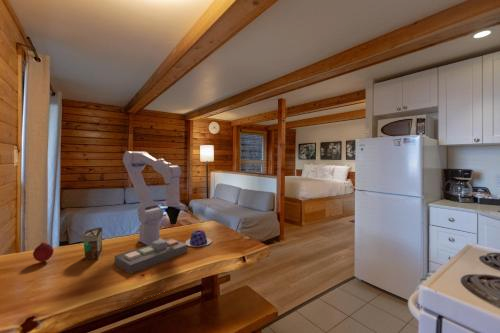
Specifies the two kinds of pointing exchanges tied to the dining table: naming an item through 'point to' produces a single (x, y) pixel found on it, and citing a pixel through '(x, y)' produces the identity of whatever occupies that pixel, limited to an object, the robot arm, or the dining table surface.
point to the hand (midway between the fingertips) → (173, 224)
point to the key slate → (159, 245)
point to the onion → (43, 252)
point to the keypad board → (149, 257)
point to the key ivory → (132, 255)
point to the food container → (92, 243)
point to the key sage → (146, 251)
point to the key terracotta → (172, 243)
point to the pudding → (198, 239)
